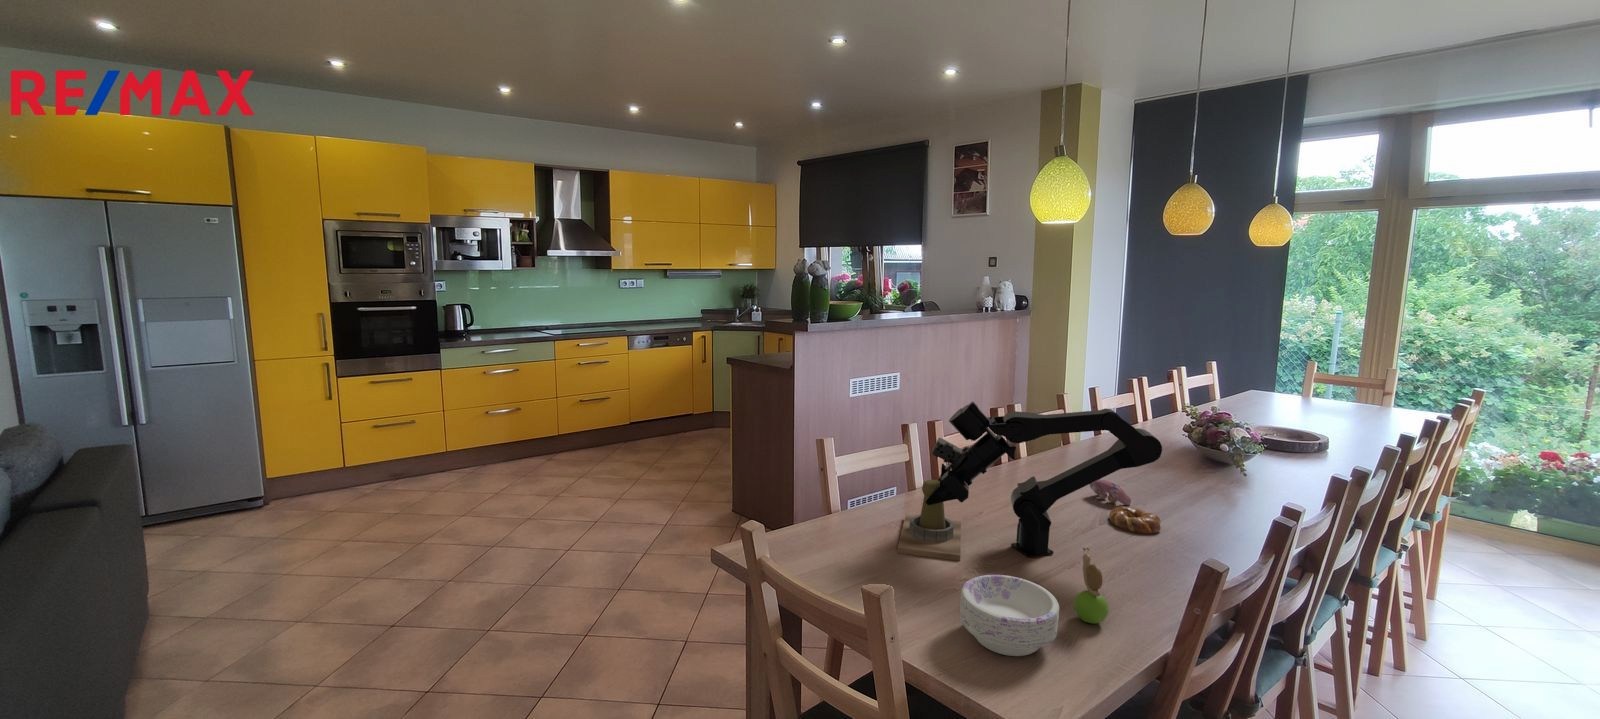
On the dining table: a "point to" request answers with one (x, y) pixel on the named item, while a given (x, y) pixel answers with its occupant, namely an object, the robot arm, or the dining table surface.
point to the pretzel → (1135, 520)
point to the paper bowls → (1009, 614)
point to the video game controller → (1110, 491)
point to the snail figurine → (1091, 594)
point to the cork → (932, 509)
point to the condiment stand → (930, 539)
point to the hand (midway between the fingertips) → (927, 499)
